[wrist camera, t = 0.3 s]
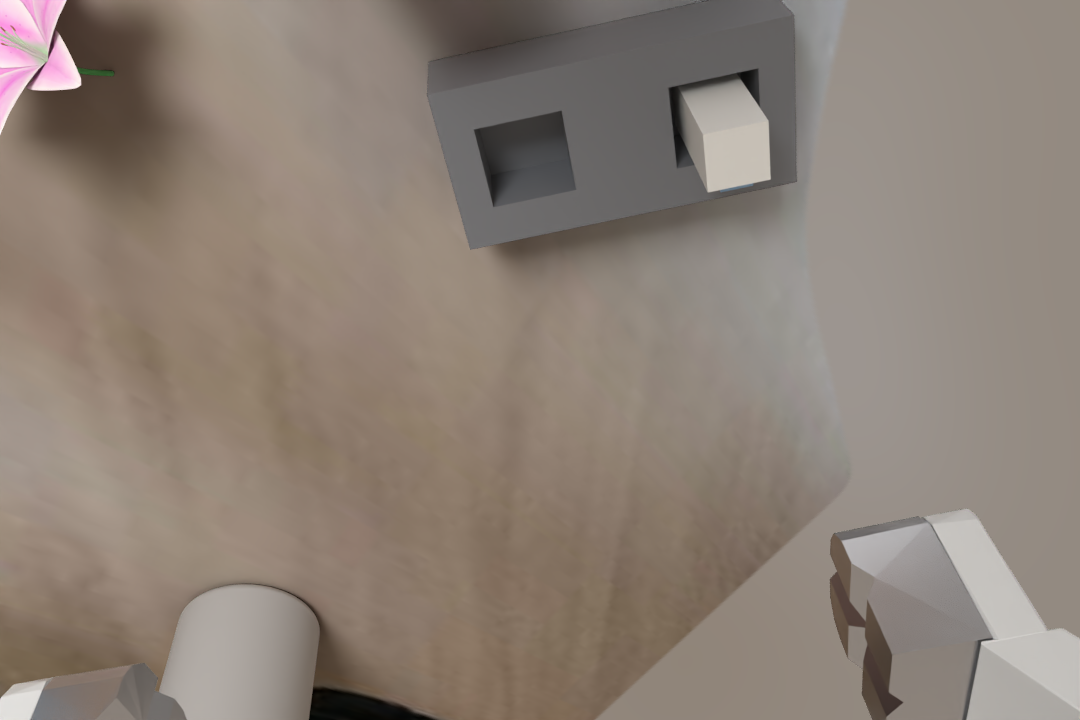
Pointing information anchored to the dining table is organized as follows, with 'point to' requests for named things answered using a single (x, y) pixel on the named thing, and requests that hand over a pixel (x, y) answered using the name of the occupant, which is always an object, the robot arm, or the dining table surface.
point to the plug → (723, 132)
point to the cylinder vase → (243, 655)
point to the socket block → (603, 116)
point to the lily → (34, 52)
